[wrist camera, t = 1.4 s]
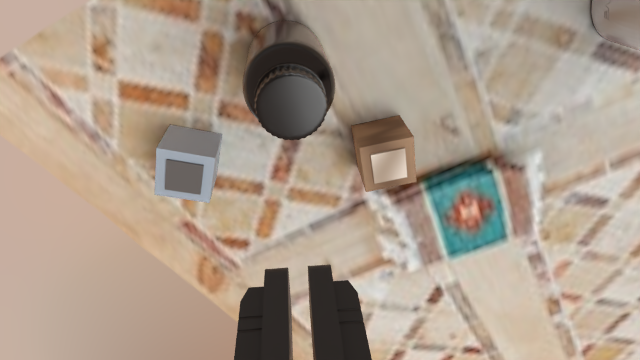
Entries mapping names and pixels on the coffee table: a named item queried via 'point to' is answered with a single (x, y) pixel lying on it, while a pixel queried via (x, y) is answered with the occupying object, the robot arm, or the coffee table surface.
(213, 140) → the slate-blue block
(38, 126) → the coffee table surface
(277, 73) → the supplement bottle
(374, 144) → the walnut block
